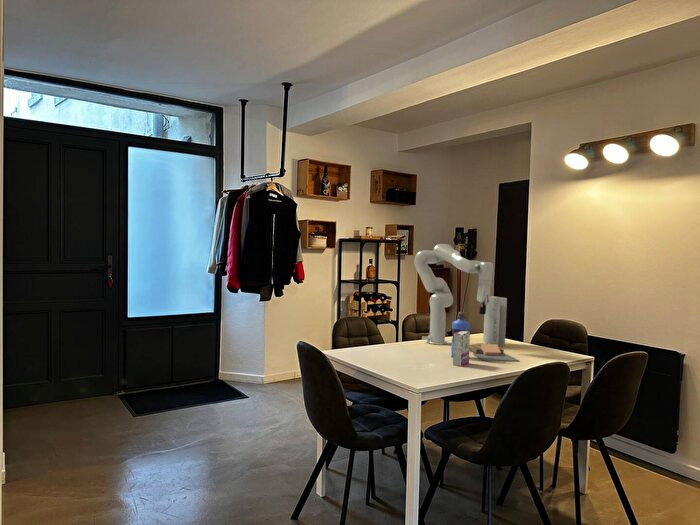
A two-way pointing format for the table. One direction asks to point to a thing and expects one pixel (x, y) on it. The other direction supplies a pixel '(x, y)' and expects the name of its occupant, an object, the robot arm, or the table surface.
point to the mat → (495, 357)
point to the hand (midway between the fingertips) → (482, 313)
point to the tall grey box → (495, 321)
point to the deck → (479, 349)
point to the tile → (490, 349)
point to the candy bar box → (461, 348)
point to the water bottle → (459, 327)
